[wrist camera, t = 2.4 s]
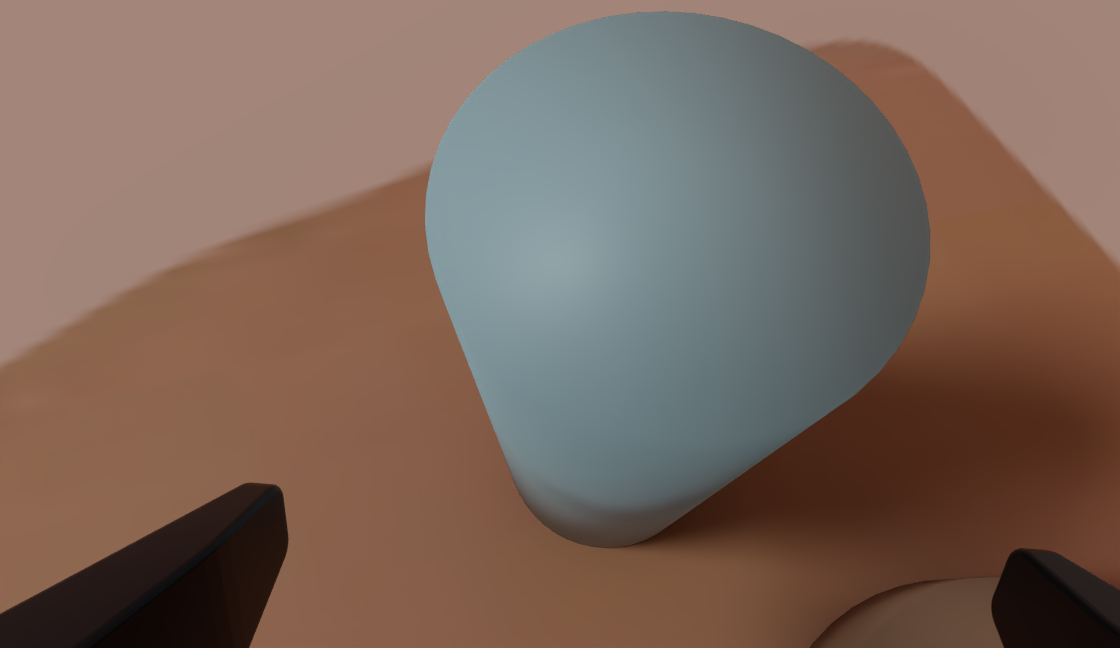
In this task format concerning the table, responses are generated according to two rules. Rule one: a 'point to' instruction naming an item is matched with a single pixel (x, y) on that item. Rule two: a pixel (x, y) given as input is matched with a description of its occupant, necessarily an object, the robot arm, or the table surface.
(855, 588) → the table surface
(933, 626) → the walnut base
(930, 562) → the table surface
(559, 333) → the blue-grey cylinder
